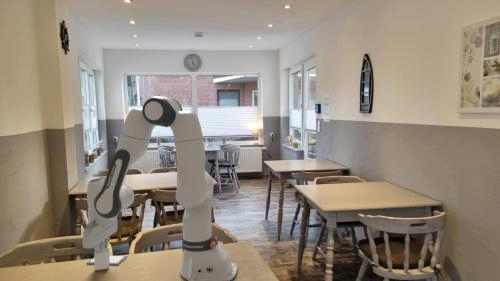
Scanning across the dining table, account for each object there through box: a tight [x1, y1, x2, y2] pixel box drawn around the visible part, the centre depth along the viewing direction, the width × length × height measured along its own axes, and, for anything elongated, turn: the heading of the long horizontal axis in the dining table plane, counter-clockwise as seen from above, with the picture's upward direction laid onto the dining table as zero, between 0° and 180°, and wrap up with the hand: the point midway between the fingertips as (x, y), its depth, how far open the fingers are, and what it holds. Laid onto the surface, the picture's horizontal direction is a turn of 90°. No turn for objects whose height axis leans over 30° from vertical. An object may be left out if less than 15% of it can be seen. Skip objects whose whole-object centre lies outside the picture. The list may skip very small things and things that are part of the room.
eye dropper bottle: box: [93, 240, 110, 271], centre depth 139 cm, size 4×6×12 cm
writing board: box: [86, 255, 128, 266], centre depth 147 cm, size 14×8×1 cm, turn 84°
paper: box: [89, 255, 126, 263], centre depth 147 cm, size 12×7×1 cm, turn 84°
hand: (101, 250), depth 139 cm, fingers closed on eye dropper bottle, 4 cm apart
